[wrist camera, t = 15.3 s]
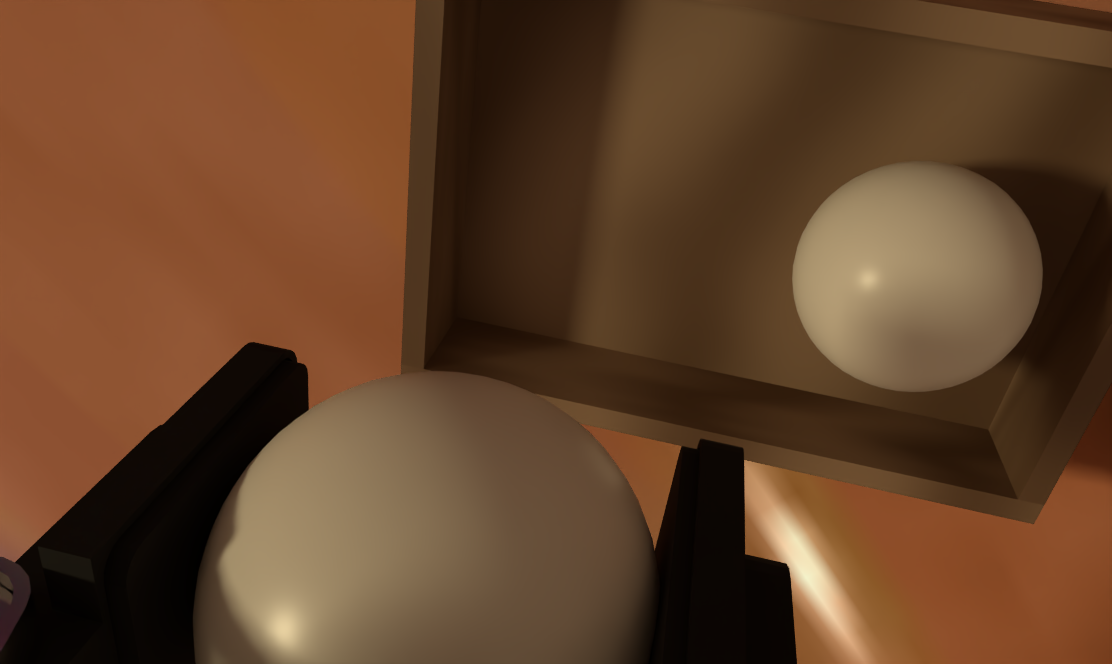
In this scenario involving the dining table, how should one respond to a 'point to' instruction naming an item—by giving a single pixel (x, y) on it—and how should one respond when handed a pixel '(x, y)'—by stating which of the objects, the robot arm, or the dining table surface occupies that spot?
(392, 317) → the dining table surface
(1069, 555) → the dining table surface
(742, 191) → the tray
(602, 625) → the cream ball
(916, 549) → the dining table surface
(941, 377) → the cream ball
